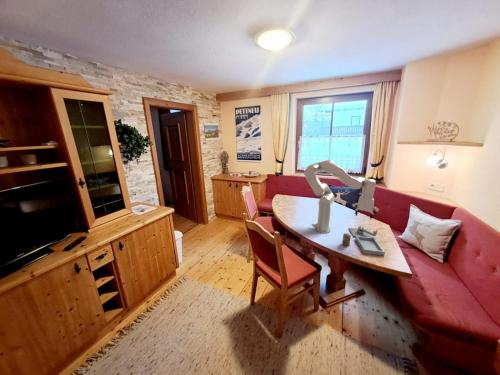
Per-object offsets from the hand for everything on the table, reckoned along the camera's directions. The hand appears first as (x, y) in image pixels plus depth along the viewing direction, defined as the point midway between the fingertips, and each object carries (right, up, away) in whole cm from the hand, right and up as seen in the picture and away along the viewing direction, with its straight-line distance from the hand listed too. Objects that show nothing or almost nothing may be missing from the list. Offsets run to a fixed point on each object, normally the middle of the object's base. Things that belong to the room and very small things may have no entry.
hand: (363, 216), depth 145 cm
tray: (+2, -22, -3) cm, 22 cm away
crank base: (+7, -16, +16) cm, 24 cm away
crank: (+9, -14, +11) cm, 20 cm away
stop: (-13, -21, +1) cm, 25 cm away
